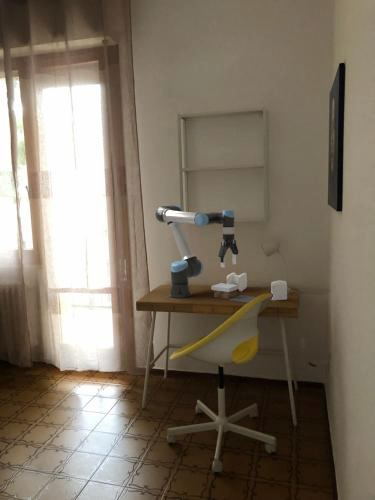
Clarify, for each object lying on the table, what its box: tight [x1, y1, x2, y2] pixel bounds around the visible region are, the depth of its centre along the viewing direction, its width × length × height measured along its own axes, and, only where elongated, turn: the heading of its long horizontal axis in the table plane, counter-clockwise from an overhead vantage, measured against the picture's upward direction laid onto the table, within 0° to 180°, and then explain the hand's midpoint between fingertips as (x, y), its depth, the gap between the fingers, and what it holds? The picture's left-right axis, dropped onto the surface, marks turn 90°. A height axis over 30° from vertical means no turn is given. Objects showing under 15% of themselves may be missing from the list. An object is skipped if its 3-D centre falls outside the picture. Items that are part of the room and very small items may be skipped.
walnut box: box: [213, 289, 237, 300], centre depth 275 cm, size 12×8×5 cm, turn 51°
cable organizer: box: [225, 272, 248, 292], centre depth 293 cm, size 15×11×12 cm
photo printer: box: [270, 279, 288, 301], centre depth 261 cm, size 10×4×12 cm, turn 96°
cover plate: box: [211, 282, 239, 292], centre depth 274 cm, size 14×11×2 cm
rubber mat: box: [228, 294, 256, 304], centre depth 265 cm, size 16×14×1 cm
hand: (228, 265), depth 270 cm, fingers open, 13 cm apart
